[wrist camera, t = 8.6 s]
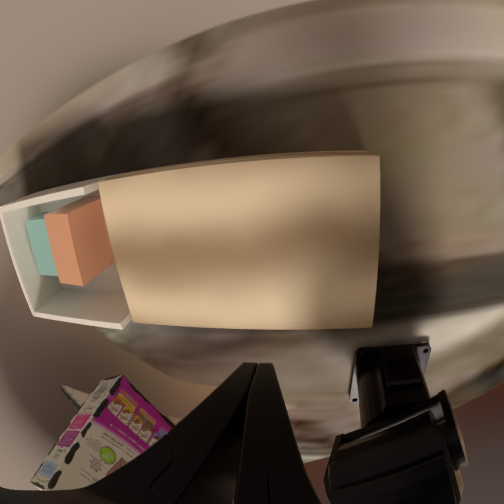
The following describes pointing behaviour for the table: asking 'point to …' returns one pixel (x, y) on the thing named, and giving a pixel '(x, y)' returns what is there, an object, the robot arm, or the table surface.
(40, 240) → the mint green block
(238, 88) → the table surface
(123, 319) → the box
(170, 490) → the robot arm
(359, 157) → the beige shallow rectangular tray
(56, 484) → the candy bar box
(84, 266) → the terracotta block
